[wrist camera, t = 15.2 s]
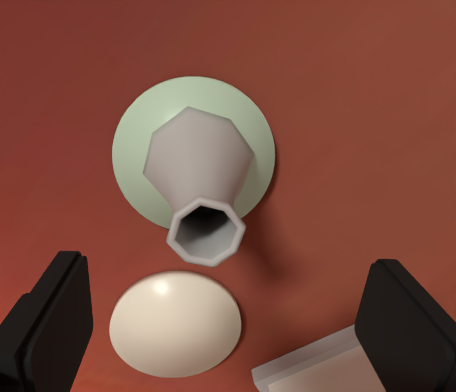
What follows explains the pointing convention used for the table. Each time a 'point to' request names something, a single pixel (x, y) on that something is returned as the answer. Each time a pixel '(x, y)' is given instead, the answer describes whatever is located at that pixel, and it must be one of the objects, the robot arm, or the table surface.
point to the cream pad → (175, 324)
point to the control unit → (321, 368)
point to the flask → (200, 183)
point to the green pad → (165, 110)
